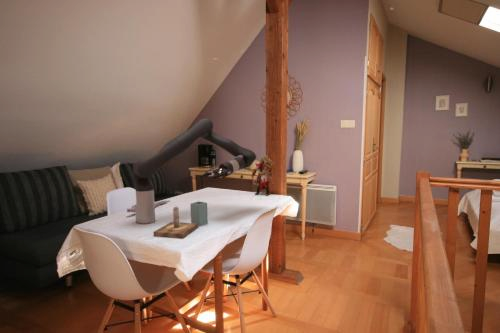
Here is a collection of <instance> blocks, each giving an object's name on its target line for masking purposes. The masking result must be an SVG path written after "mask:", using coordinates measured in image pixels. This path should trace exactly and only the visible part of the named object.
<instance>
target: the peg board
mask: <svg viewBox="0 0 500 333" xmlns="http://www.w3.org/2000/svg"><path fill="white" fill-rule="evenodd" d="M172 210H173V212H172V213H173V221H170V222H168V223H166V224H165V225H163V226H161V227H160V228H158V229H156V230H154V231H153V237H159V236H160V238H171V237H172V239H173V238H174V239H185V238H186V237H187V236H189V235H190V234H192V233H193V232H194V231H196V230H197V229H199V226H198V223H191V222H180V209H179V206H174V207H173V209H172ZM188 234H189V235H188Z"/></svg>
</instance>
